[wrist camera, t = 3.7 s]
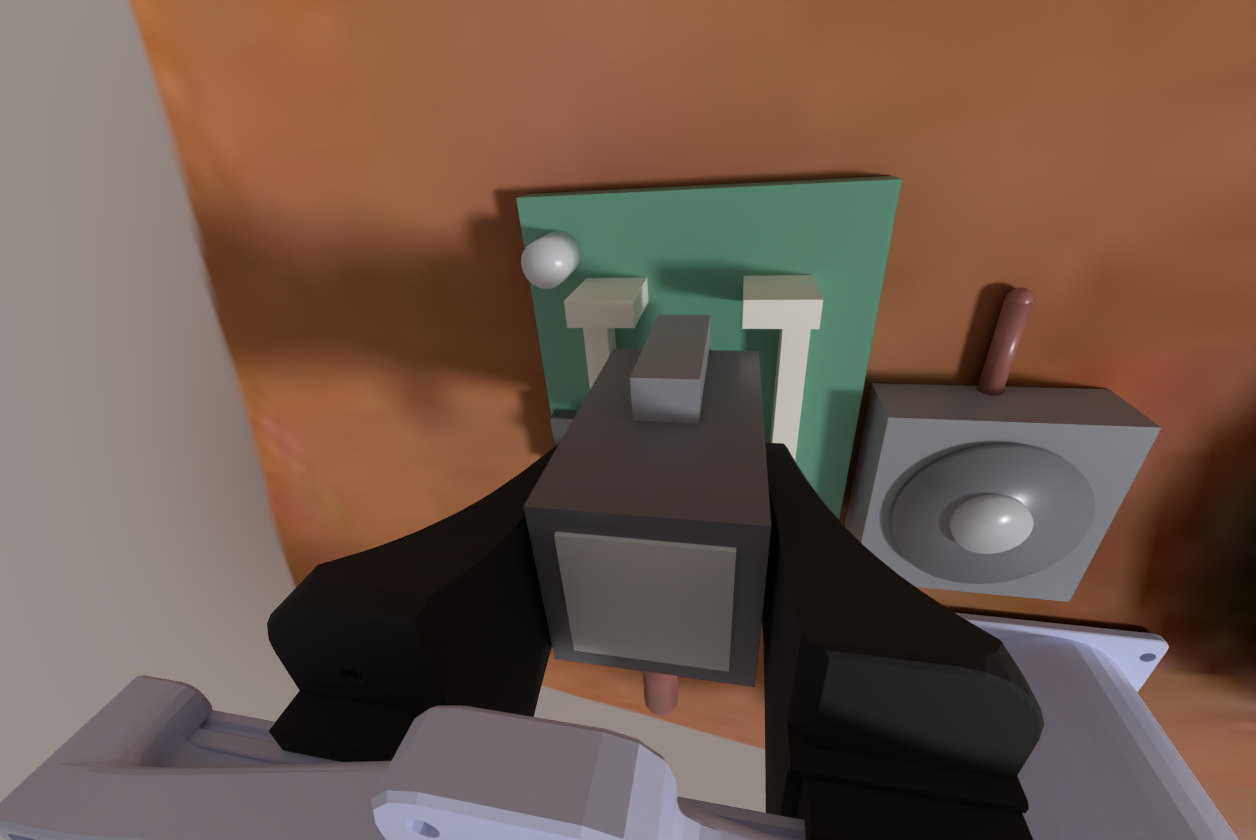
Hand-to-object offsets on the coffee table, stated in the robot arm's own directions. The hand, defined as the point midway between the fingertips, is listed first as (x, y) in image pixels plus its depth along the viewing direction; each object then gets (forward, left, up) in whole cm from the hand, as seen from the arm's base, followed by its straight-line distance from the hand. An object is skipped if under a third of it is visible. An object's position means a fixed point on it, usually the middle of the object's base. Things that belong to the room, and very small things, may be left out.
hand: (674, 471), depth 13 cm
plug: (0, 0, -3) cm, 3 cm away
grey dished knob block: (-2, -10, -7) cm, 12 cm away
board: (0, 0, -7) cm, 7 cm away
